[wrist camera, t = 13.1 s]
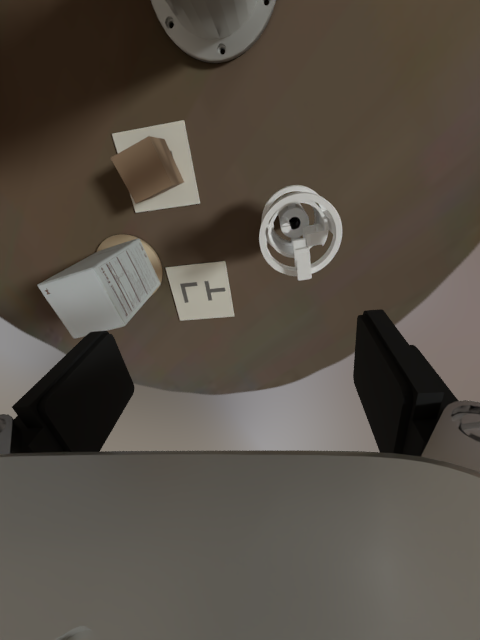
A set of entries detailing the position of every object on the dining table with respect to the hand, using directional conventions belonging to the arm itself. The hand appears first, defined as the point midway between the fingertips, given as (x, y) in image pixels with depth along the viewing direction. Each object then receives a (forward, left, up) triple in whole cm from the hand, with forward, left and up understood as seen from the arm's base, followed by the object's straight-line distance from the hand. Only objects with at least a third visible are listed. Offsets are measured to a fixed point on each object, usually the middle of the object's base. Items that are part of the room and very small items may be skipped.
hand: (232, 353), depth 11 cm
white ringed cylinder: (0, +4, -31) cm, 31 cm away
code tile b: (-7, -12, -30) cm, 33 cm away
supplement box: (+5, -20, -30) cm, 36 cm away
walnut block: (-7, -12, -30) cm, 33 cm away
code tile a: (+10, -10, -30) cm, 33 cm away
